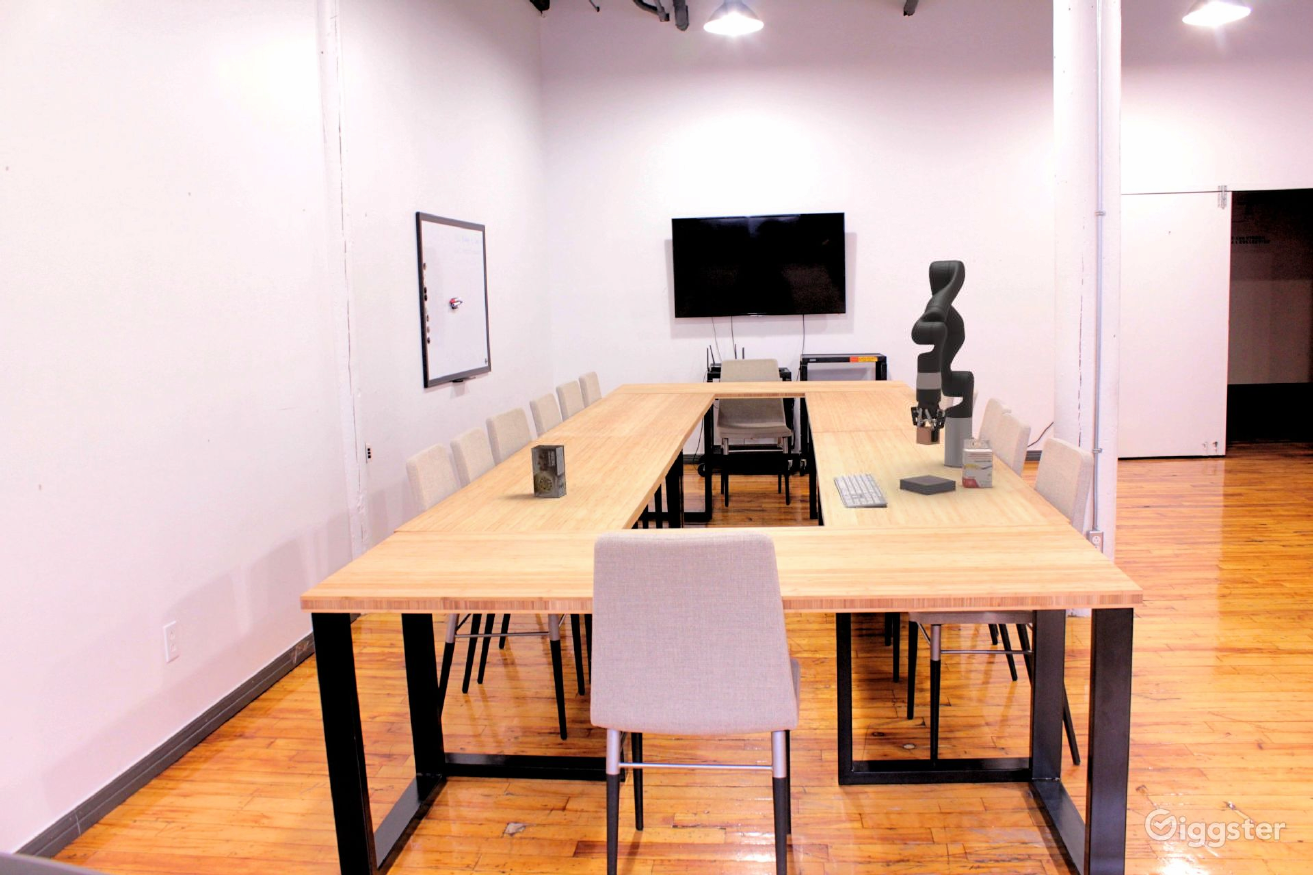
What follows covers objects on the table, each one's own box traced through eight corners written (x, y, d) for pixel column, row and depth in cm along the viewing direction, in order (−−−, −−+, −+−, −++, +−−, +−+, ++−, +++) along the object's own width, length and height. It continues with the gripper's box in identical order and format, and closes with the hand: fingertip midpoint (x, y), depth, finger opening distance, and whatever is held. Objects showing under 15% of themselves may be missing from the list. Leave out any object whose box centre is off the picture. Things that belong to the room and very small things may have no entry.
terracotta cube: (928, 441, 320) (928, 426, 319) (939, 443, 315) (939, 427, 314) (916, 443, 317) (916, 427, 317) (927, 445, 313) (927, 429, 312)
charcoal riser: (928, 484, 327) (928, 474, 326) (955, 490, 316) (955, 480, 316) (899, 488, 321) (899, 479, 321) (926, 495, 311) (926, 485, 310)
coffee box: (567, 493, 329) (565, 444, 326) (559, 498, 323) (556, 448, 320) (541, 492, 332) (539, 444, 329) (533, 496, 326) (530, 447, 323)
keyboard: (833, 480, 340) (833, 473, 340) (871, 479, 339) (871, 472, 339) (845, 509, 297) (845, 502, 297) (888, 509, 296) (888, 501, 295)
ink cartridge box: (964, 487, 319) (965, 441, 317) (961, 484, 324) (962, 439, 322) (992, 487, 319) (993, 441, 316) (989, 484, 323) (990, 438, 321)
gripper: (954, 387, 309) (953, 442, 312) (921, 384, 322) (921, 437, 324) (935, 389, 306) (935, 445, 308) (903, 385, 318) (903, 439, 321)
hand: (928, 440), depth 316 cm, fingers closed on terracotta cube, 5 cm apart
